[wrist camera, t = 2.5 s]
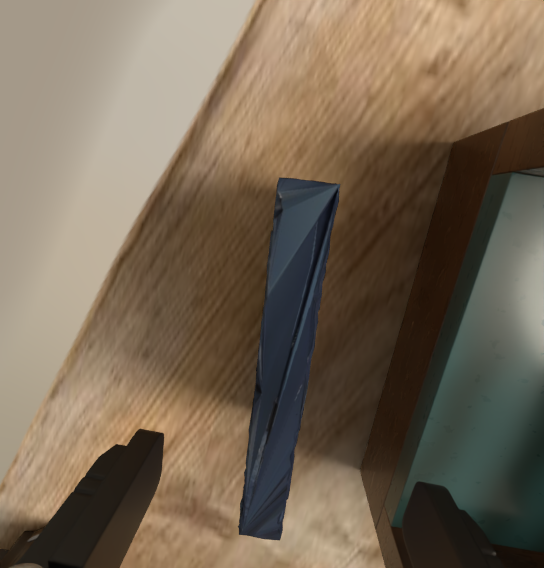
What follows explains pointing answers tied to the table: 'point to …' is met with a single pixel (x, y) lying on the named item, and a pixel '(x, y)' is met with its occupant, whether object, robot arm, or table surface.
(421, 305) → the sofa
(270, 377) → the vhs cassette tape
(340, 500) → the table surface
